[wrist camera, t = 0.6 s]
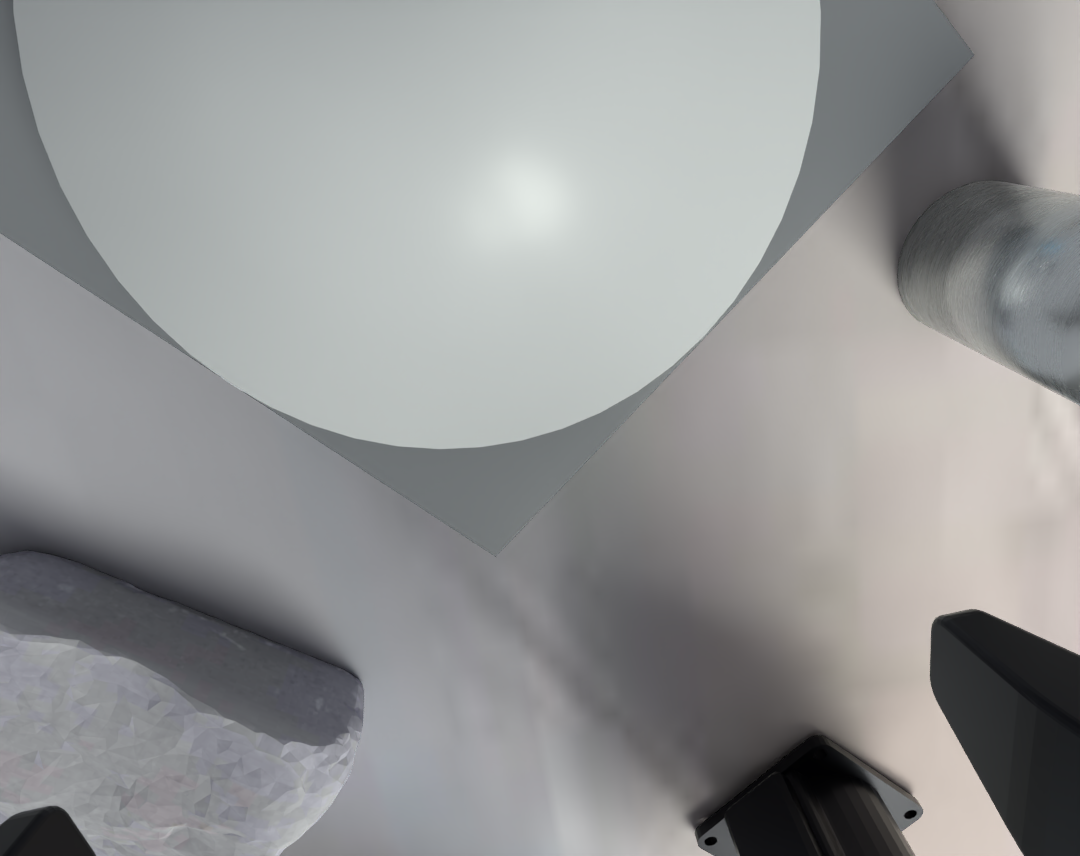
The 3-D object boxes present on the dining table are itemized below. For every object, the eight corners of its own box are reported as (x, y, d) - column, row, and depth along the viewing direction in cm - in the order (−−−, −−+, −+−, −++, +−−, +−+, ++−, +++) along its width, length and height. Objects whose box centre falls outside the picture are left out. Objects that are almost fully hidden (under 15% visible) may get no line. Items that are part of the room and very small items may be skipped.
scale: (942, 36, 17) (1031, 27, 15) (493, 517, 22) (497, 579, 19) (376, -699, 12) (349, -932, 9) (-67, 139, 16) (-174, 149, 14)
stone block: (281, 802, 29) (395, 665, 24) (232, 942, 25) (357, 812, 20) (-39, 685, 25) (16, 499, 21) (-156, 824, 21) (-122, 635, 17)
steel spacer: (1071, 249, 20) (1299, 310, 14) (953, 358, 21) (1123, 453, 15) (990, 146, 18) (1207, 170, 13) (867, 268, 20) (1021, 338, 14)
